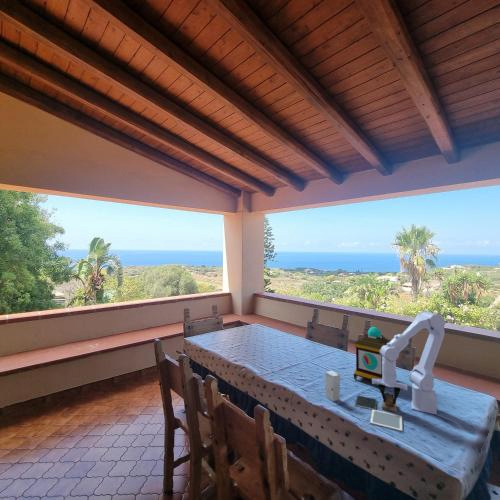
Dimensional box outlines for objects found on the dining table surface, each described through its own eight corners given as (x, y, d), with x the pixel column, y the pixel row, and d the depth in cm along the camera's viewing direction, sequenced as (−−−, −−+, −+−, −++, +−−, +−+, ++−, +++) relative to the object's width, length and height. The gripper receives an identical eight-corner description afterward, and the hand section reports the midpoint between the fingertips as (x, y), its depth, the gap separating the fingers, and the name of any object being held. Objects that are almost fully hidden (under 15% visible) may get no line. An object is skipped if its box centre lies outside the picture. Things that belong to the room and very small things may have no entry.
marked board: (402, 417, 121) (402, 415, 121) (402, 432, 110) (402, 430, 110) (372, 410, 126) (372, 409, 126) (369, 423, 116) (369, 422, 116)
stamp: (396, 406, 130) (396, 393, 130) (397, 412, 124) (396, 398, 125) (382, 403, 133) (382, 390, 133) (382, 409, 127) (381, 395, 127)
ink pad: (376, 401, 134) (376, 399, 134) (375, 410, 126) (375, 407, 126) (357, 397, 138) (357, 394, 138) (354, 405, 130) (354, 402, 130)
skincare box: (324, 396, 139) (324, 371, 140) (332, 394, 141) (331, 370, 142) (333, 401, 134) (333, 376, 134) (340, 400, 136) (340, 374, 136)
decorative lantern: (400, 380, 158) (399, 327, 160) (387, 391, 145) (386, 333, 146) (365, 370, 173) (364, 321, 174) (350, 379, 159) (349, 326, 160)
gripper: (371, 372, 129) (371, 402, 128) (407, 378, 122) (407, 410, 122) (372, 367, 135) (372, 396, 135) (406, 373, 128) (407, 403, 128)
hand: (389, 402), depth 129 cm, fingers closed on stamp, 4 cm apart
